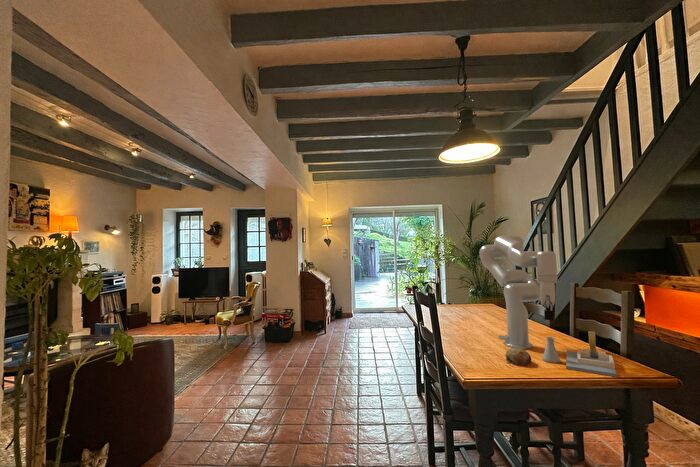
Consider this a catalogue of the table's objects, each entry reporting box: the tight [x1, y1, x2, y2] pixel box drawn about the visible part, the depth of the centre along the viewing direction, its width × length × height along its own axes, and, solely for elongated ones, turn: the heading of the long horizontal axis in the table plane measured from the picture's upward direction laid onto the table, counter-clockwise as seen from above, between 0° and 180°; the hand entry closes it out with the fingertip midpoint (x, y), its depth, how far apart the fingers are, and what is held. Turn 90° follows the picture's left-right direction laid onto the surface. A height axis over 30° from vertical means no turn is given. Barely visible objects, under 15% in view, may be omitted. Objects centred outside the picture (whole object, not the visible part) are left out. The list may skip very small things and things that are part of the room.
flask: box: [541, 336, 562, 364], centre depth 140 cm, size 7×7×10 cm
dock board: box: [565, 348, 618, 378], centre depth 135 cm, size 16×24×4 cm, turn 145°
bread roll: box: [505, 347, 532, 367], centre depth 139 cm, size 10×10×8 cm
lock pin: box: [587, 330, 598, 358], centre depth 145 cm, size 2×14×8 cm, turn 145°
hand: (549, 318), depth 140 cm, fingers open, 9 cm apart
